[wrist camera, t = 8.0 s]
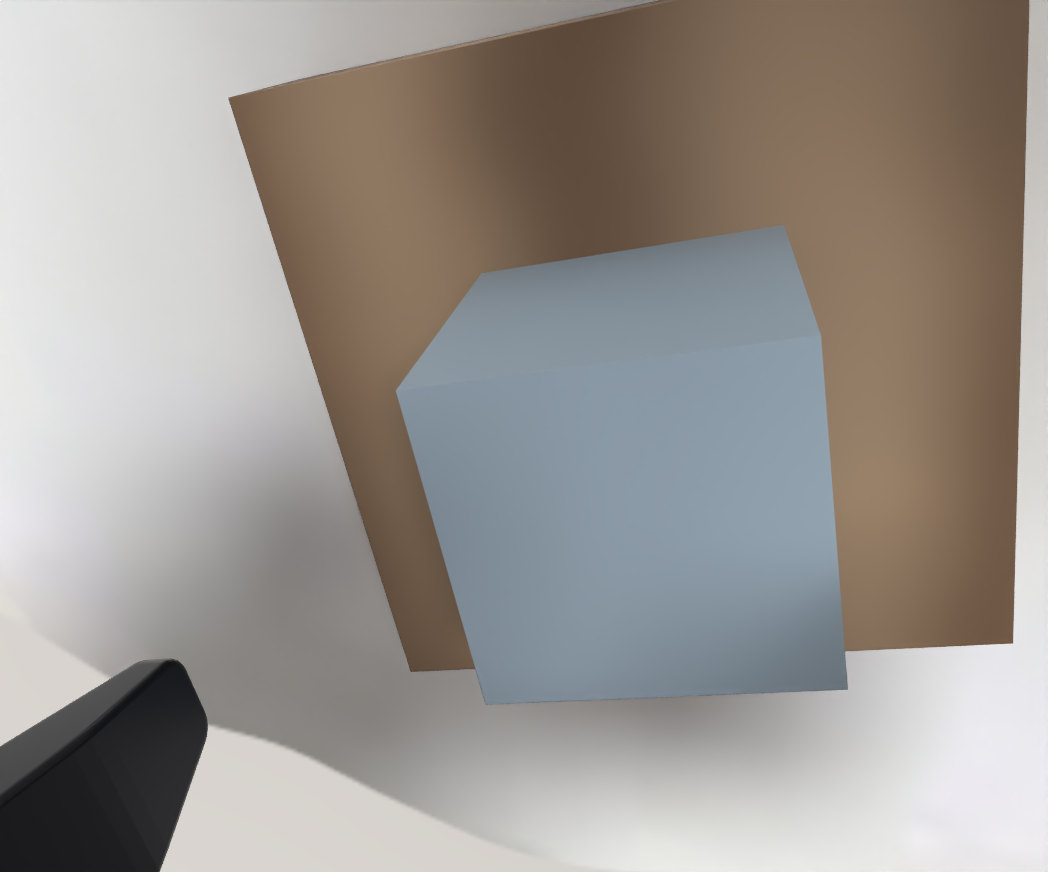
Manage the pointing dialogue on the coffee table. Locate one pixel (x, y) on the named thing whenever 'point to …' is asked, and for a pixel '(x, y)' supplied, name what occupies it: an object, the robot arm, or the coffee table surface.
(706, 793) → the coffee table surface
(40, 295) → the coffee table surface
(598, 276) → the slate block
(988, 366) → the walnut plinth
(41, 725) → the robot arm
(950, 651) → the coffee table surface
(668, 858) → the coffee table surface
